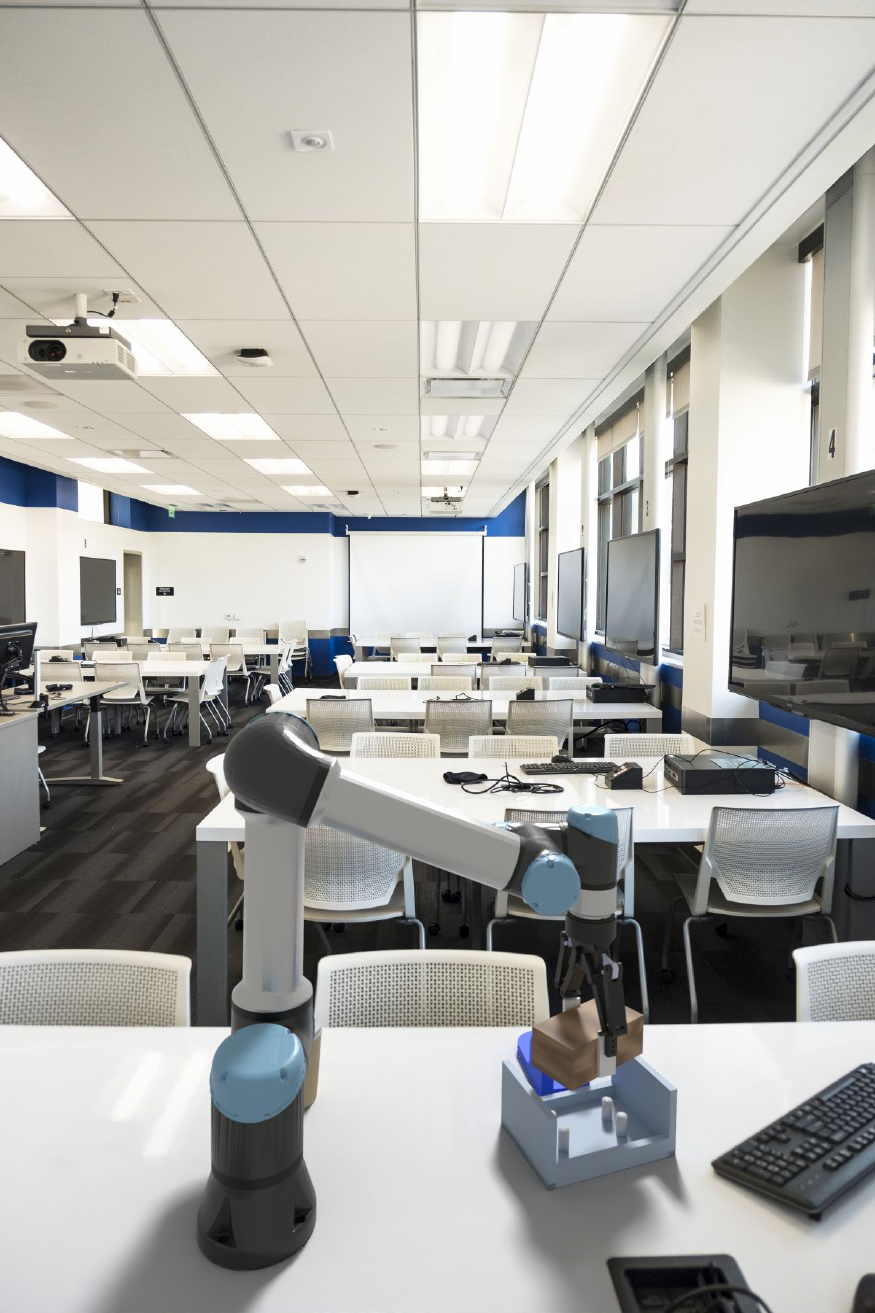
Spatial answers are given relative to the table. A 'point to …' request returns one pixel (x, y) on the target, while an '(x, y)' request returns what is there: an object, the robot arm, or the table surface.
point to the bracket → (538, 1079)
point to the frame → (591, 1123)
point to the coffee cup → (313, 1066)
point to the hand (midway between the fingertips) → (587, 1056)
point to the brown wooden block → (580, 1044)
